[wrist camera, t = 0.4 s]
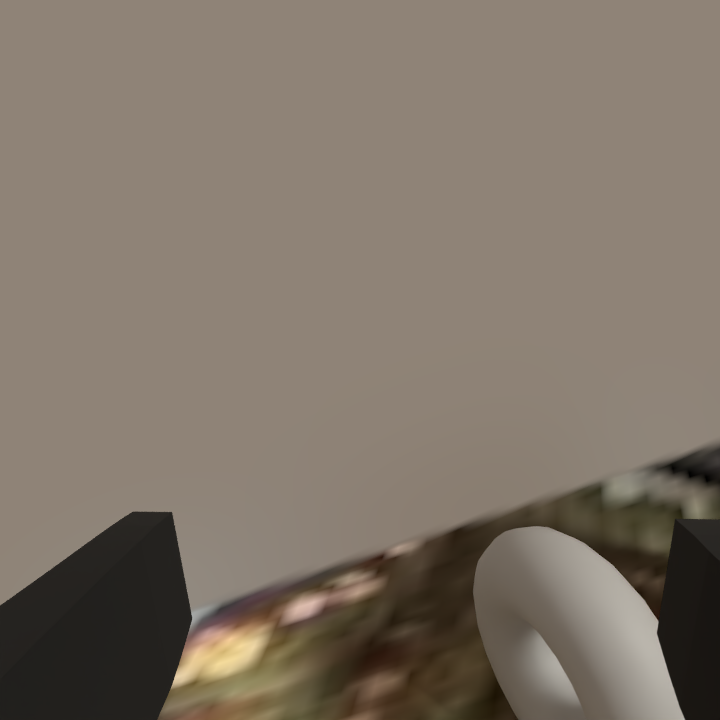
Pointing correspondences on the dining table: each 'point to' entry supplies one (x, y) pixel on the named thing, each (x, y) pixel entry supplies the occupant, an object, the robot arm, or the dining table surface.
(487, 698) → the dining table surface
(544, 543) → the donut
